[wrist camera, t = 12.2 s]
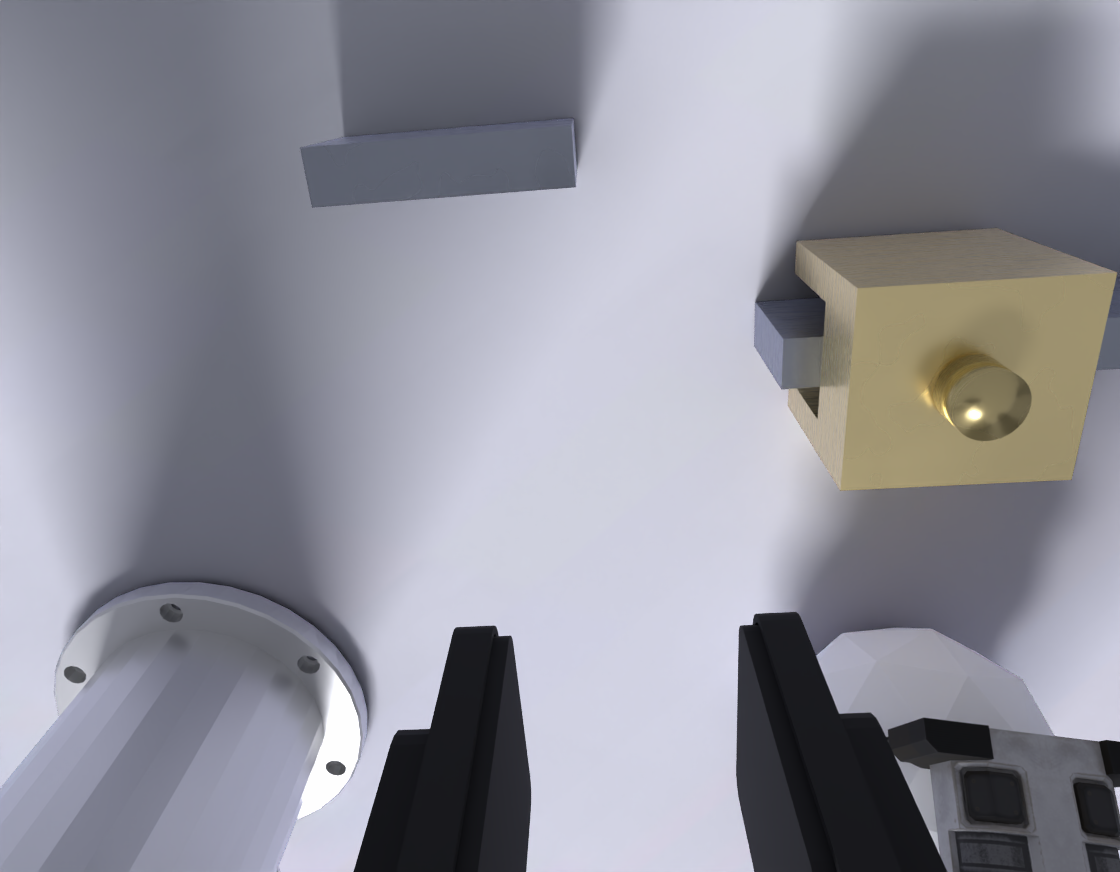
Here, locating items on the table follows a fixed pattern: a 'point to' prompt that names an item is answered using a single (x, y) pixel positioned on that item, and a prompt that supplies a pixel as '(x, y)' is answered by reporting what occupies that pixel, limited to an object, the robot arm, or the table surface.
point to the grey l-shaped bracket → (798, 329)
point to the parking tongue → (442, 163)
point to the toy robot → (980, 754)
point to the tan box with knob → (950, 358)
